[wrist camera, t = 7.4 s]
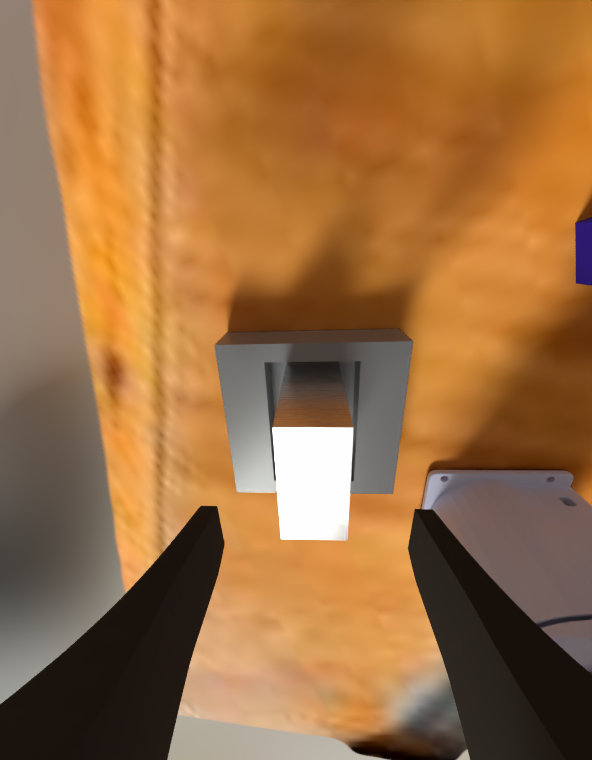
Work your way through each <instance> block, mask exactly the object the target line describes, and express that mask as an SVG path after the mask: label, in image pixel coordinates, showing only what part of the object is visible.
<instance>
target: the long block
mask: <svg viewBox="0 0 592 760" xmlns="http://www.w3.org/2000/svg"><path fill="white" fill-rule="evenodd" d="M272 428H273V441H274V454H275V467H276V480H277V493H278V506H279V519H280V532H281V539H306V540H347V538H348V520H349V502H350V484H351V466H352V448H353V430H354V427H353V423H352V418H351V414H350V410H349V405H348V401H347V397H346V393H345V388H344V384H343V380H342V375H341V371H340V367H339V363H338V361H328V362H287V363H286V368H285V372H284V377H283V381H282V386H281V391H280V395H279V400H278V404H277V409H276V414H275V418H274V423H273V427H272Z"/></svg>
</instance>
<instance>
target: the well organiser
mask: <svg viewBox="0 0 592 760" xmlns="http://www.w3.org/2000/svg"><path fill="white" fill-rule="evenodd" d="M412 345H413V341H412V340H411V339H410V338H409V337H408V336H407V335H406V334H405V333H404V332H403V331H401V330H400V329H357V330H311V331H265V332H227V333H226V334H225V335H224V336H223V337H222V338H221V339H220V340H219V341H218V342H217V343H216V344H215V352H216V358H217V365H218V371H219V378H220V384H221V391H222V397H223V404H224V410H225V417H226V423H227V430H228V436H229V443H230V449H231V456H232V462H233V469H234V475H235V482H236V488H237V492H258V493H277V480H276V467H275V454H274V441H273V428H272V427H273V423H274V418H275V414H276V409H277V404H278V400H279V395H280V391H281V386H282V381H283V377H284V372H285V368H286V363H287V362H328V361H338V363H339V367H340V371H341V375H342V380H343V384H344V388H345V393H346V397H347V401H348V405H349V410H350V414H351V418H352V423H353V427H354V430H353V448H352V466H351V484H350V493H354V494H393V490H394V483H395V475H396V467H397V460H398V452H399V444H400V437H401V429H402V422H403V414H404V406H405V399H406V391H407V384H408V376H409V368H410V361H411V353H412Z"/></svg>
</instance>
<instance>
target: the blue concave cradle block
mask: <svg viewBox="0 0 592 760" xmlns="http://www.w3.org/2000/svg"><path fill="white" fill-rule="evenodd" d="M575 230H576V283H577V284H585V285H592V217H591V218H588V219H585V220H583V221H580V222H577V223H575Z"/></svg>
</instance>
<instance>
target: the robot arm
mask: <svg viewBox="0 0 592 760" xmlns="http://www.w3.org/2000/svg"><path fill="white" fill-rule="evenodd" d="M443 476H445V477H444V478H441V477H443ZM573 479H574V477H573V475H572V474H571V473H570V472H568V471H559V470H433V471H431V472H429V474H428V476H427V482H426V487H425V492H424V498H423V503H422V508H421V509H415V512H414V517H413V523H412V529H411V535H410V540H409V546H408V550H409V555H410V559H411V563H412V568H413V572H414V576H415V580H416V583H417V586H418V589H419V592H420V595H421V598H422V600H423V603H424V606H425V609H426V612H427V615H428V618H429V621H430V623H431V626H432V629H433V632H434V635H435V638H436V641H437V644H438V646H439V649H440V652H441V655H442V658H443V661H444V664H445V667H446V670H447V674H448V677H449V680H450V684H451V688H452V691H453V695H454V699H455V702H456V706H457V710H458V714H459V717H460V721H461V725H462V729H463V733H464V737H465V741H466V745H467V749H468V752H469V756H470V760H592V506H591V505H590V504H589V503H588V502H587V501H585V500H584V499H583V498H582V497H581V496H580V495H579V494H578V493H577V492H576V491H575V490H574V489H572V488H571V487H570V486H571V484H572V482H573ZM223 549H224V539H223V534H222V529H221V524H220V518H219V513H218V508H217V506H201V507H200V508H199V509H198V510H197V511H196V512H195V514H194V515H193V516H192V517H191V519H190V520H189V521H188V523H187V524H186V525H185V526H184V528H183V529H182V530H181V531H180V533H179V534H178V535H177V536H176V538H175V539H174V540H173V541H172V542H171V544H170V545H169V546H168V547H167V548H166V549H165V551H164V552H163V553H162V554H161V555H160V557H159V558H158V559H157V560H156V561H155V562H154V564H153V565H152V566H151V567H150V568H149V569H148V570H147V571H146V572H145V573H144V575H143V576H142V577H141V578H140V579H139V580H138V581H137V582H136V583H135V584H134V586H133V587H132V588H131V589H130V590H129V591H128V592H127V593H126V594H125V595H124V596H123V597H122V598H121V599H120V600H119V601H118V602H117V603H116V604H115V605H114V606H113V607H112V608H111V609H110V610H109V611H108V612H107V613H106V614H105V615H104V616H103V617H102V618H101V619H100V620H99V621H98V622H97V623H95V624H94V626H92V627H91V628H90V629H89V630H88V631H87V632H86V633H85V634H84V635H82V636H81V637H80V638H79V639H78V640H77V641H76V642H75V643H74V644H73V645H71V646H70V647H69V648H68V649H67V650H66V651H65V652H63V653H62V654H61V655H60V656H59V657H58V658H56V659H55V660H54V661H53V662H52V663H50V664H49V665H48V666H47V667H46V668H44V669H43V670H42V671H41V672H40V673H39V674H37V675H36V676H35V677H34V678H32V679H31V680H30V681H29V682H27V683H26V684H25V685H24V686H23V687H21V688H20V689H19V690H18V691H17V692H16V693H14V694H13V695H12V696H10V697H9V698H8V699H6V700H5V701H4V702H3V703H1V704H0V760H167V758H168V753H169V749H170V744H171V740H172V736H173V731H174V726H175V723H176V718H177V714H178V710H179V705H180V701H181V697H182V693H183V689H184V685H185V681H186V677H187V672H188V668H189V665H190V661H191V658H192V654H193V651H194V648H195V644H196V641H197V638H198V635H199V632H200V629H201V626H202V623H203V620H204V617H205V614H206V611H207V608H208V605H209V601H210V598H211V595H212V592H213V589H214V586H215V583H216V580H217V576H218V572H219V568H220V564H221V559H222V554H223Z"/></svg>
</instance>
